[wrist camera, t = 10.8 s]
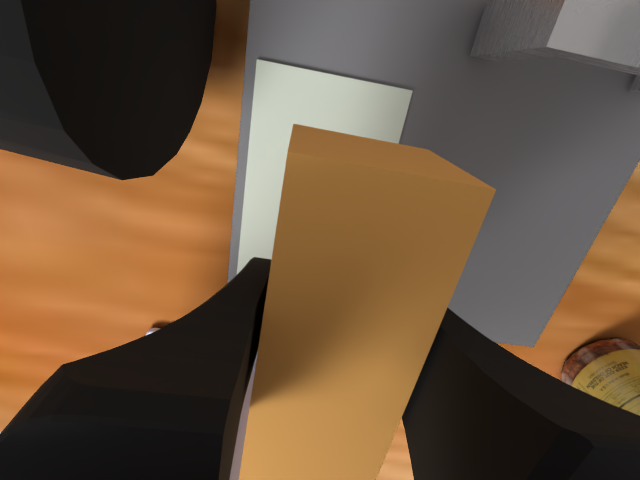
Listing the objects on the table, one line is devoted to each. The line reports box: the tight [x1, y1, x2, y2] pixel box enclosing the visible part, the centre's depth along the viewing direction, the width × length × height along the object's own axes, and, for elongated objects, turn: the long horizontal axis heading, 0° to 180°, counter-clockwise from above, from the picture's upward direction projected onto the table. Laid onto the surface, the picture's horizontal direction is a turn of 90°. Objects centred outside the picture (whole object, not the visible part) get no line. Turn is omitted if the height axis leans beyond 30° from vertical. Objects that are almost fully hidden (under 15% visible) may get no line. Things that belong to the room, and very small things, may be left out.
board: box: [227, 0, 640, 347], centre depth 19 cm, size 18×20×2 cm
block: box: [239, 124, 496, 480], centre depth 10 cm, size 10×4×4 cm, turn 169°
